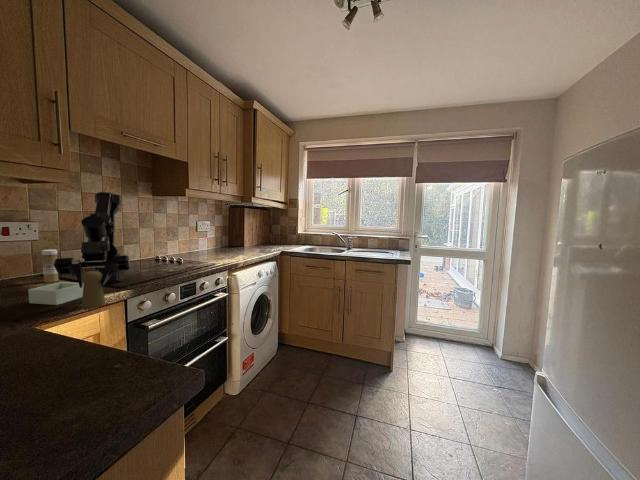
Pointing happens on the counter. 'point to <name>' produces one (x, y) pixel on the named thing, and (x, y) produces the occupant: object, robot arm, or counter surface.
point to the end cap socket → (55, 293)
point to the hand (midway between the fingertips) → (91, 286)
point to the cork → (92, 290)
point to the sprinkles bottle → (49, 265)
